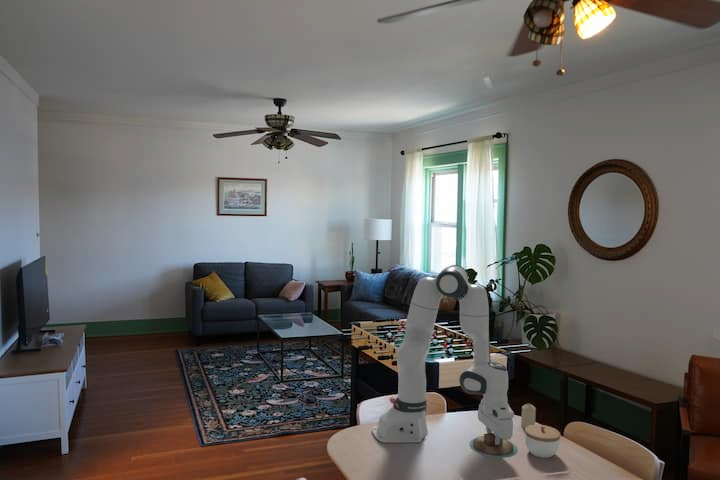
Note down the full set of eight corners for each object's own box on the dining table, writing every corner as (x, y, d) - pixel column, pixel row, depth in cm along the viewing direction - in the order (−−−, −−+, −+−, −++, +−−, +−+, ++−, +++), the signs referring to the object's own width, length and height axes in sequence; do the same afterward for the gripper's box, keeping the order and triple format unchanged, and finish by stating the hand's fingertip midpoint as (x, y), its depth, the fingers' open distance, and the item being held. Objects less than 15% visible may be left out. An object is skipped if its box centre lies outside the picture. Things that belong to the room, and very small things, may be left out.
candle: (535, 431, 230) (536, 407, 229) (521, 429, 231) (522, 406, 231) (534, 426, 236) (535, 402, 235) (520, 424, 237) (521, 401, 236)
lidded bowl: (559, 465, 201) (561, 435, 200) (523, 459, 205) (524, 430, 204) (558, 450, 213) (560, 422, 212) (524, 445, 217) (525, 417, 216)
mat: (483, 461, 202) (483, 459, 202) (461, 440, 220) (461, 438, 220) (527, 456, 207) (527, 454, 207) (502, 436, 225) (502, 434, 224)
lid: (484, 457, 204) (485, 445, 204) (466, 439, 218) (466, 428, 218) (521, 453, 208) (521, 441, 208) (500, 436, 223) (501, 425, 222)
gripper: (474, 396, 221) (473, 430, 222) (501, 416, 202) (499, 453, 203) (489, 395, 223) (487, 429, 224) (516, 415, 203) (514, 452, 204)
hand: (493, 441), depth 213 cm, fingers closed on lid, 3 cm apart
